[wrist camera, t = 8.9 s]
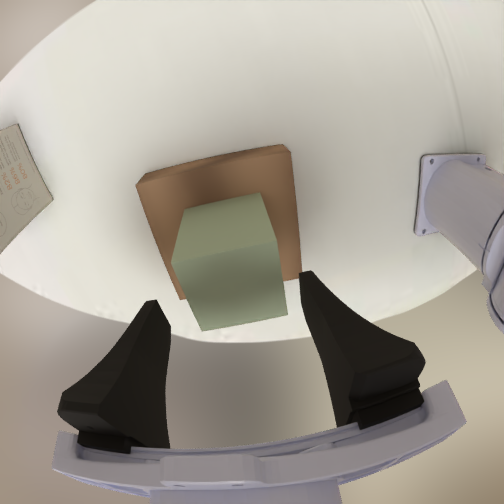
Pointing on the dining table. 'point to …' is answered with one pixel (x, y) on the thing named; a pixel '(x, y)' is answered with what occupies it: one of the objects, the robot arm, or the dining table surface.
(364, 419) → the robot arm
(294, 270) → the walnut pad
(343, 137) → the dining table surface
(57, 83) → the dining table surface
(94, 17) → the dining table surface
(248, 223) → the sage block
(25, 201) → the small box
